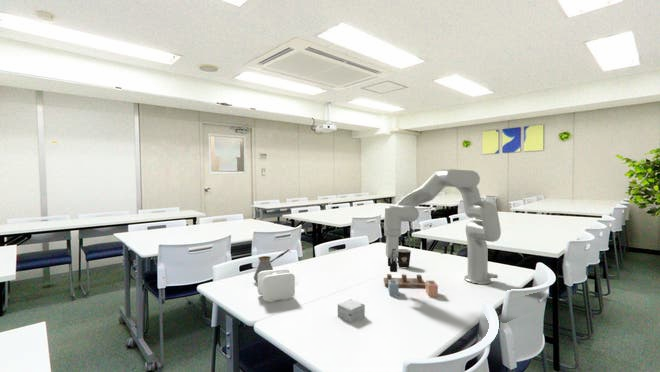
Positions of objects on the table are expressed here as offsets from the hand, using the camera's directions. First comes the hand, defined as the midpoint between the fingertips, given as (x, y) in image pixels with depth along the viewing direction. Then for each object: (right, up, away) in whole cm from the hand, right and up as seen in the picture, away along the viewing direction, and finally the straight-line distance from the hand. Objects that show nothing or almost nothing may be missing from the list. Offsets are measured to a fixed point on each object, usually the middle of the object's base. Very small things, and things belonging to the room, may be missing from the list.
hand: (392, 268), depth 145 cm
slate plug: (+1, -12, 0) cm, 12 cm away
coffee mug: (+15, -11, +46) cm, 49 cm away
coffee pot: (-60, -12, +21) cm, 65 cm away
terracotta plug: (+18, -12, -1) cm, 21 cm away
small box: (-21, -13, -24) cm, 34 cm away
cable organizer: (-54, -12, -3) cm, 55 cm away
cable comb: (+9, -11, +13) cm, 19 cm away
